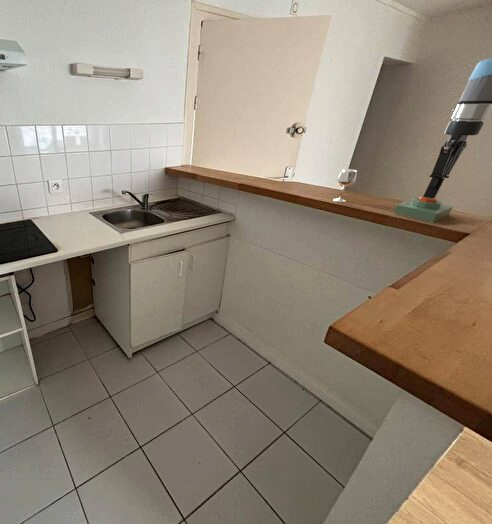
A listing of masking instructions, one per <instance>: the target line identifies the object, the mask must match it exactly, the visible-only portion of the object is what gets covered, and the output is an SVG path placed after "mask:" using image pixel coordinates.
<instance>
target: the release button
mask: <svg viewBox="0 0 492 524" xmlns="http://www.w3.org/2000/svg"><path fill="white" fill-rule="evenodd" d="M423 196H424V195H421V196H419V197H418V198H419V200H420V201H423V202H429V203H436V201H438V198H437V197H435V198H428V197H423Z"/></svg>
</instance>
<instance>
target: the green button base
mask: <svg viewBox="0 0 492 524" xmlns="http://www.w3.org/2000/svg"><path fill="white" fill-rule="evenodd" d="M419 198H420V197H413V198H412V199H410V200H406V201H404V202H401V203H398V204H396V206H395V207H394V210H393V212H392V214H394V213H397V214H396V215H398V214H402V215H406V216H410V217H414V218H417V219H416V220H419V219H421V220H420V221H423V220H425V221H424V222H427V221H429V222H428V223H431V222H433V223H435V222H437V221H440V220H442V219H444V218H446V217H448V216H449V215H450V213H451V212H452V210H453V208H454V206H452V205H448V204H447V205H446V204H443V202H442V201H441V200H437V201H436V203H429V202H423V201H420V200H419ZM402 215H401V216H402ZM406 216H405V217H406ZM410 217H409V218H410ZM414 218H413V219H414Z"/></svg>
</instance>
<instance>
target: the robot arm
mask: <svg viewBox="0 0 492 524" xmlns="http://www.w3.org/2000/svg"><path fill="white" fill-rule="evenodd" d="M452 112H453V114H452V116H451V119H452V120H450V121H449V122H448V124H447V126H446V128H445V130H444V134H445V135H450V137H449V138H448V140H446V141H445V143H444V145H442V146H441V147H440V150H439V154H438V157H437V159H436V162H435V164H434V167H433V169H432V172H431V174H430V175H429V178H431V179H430V181H429V183H428V186H427V188H426V189H425V191H424V194H423V195H422V196H423V197H428V198H437V197H436V196H437V194H438V193H439V191H440V189H441V186H442V184H443V183H444V181H445V179H449V178H450V174H451V172H452V170H453V168H454V166H455V165H456V163H457V161H458V160H459V158H460V156H461V155H462V153H463V151H464V150H465V149H466V148H467V144H468V141H467V138H468V137H469V136H477V135H479V133H480V132H481V129H482V128H483V126H484V124H485V122H484V120H487V119H488V117H489V115H490V113H491V112H492V57H490V58H485V59H482V60H480V61H479V62H478V63H477V64H476V66H475V67H474V69H473V71H472V73H471V74H470V76H469V78H468V81H467V83H466V85H465V88H464V89H463V92H462V94H461V97H460V98H459V101H458V103H457V105H456V107H454V108H453V109H452Z"/></svg>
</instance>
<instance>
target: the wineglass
mask: <svg viewBox="0 0 492 524" xmlns="http://www.w3.org/2000/svg"><path fill="white" fill-rule="evenodd" d="M357 175H358V170H356V169H350V168H344V169H342V170H341V172H340V173H339V175H338V177H337V184H338V185H339V186H340V187H342V188H341V193H340V196H339V197H338V198H333V201H334V202H337V203H346V202H347V201H346V200H345V199H344V198H343V199H342V196H343V193H344V192H345V191H346V188H348V187H349V188H350V187H352V186H353V185H354V184H355V183H356V179H357Z"/></svg>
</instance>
